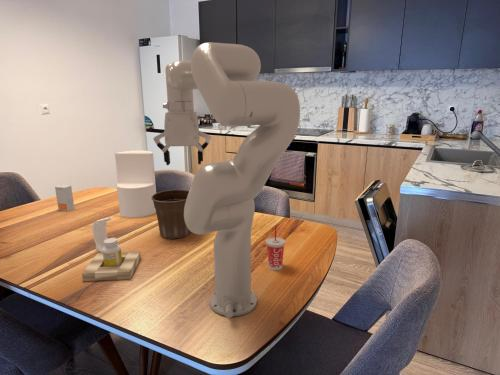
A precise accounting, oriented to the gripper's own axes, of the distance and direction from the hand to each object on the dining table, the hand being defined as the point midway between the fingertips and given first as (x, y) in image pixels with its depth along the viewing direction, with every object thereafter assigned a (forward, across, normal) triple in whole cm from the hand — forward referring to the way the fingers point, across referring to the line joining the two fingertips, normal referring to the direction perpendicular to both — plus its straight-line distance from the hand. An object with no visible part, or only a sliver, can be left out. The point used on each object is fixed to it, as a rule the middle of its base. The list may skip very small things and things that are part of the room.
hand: (184, 163), depth 109 cm
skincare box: (+34, -65, +60) cm, 95 cm away
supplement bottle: (+33, -24, -3) cm, 41 cm away
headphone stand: (+34, -32, +13) cm, 48 cm away
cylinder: (+34, -29, +54) cm, 70 cm away
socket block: (+33, -24, -3) cm, 41 cm away
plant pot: (+34, -8, +25) cm, 43 cm away
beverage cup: (+34, +28, -6) cm, 44 cm away
